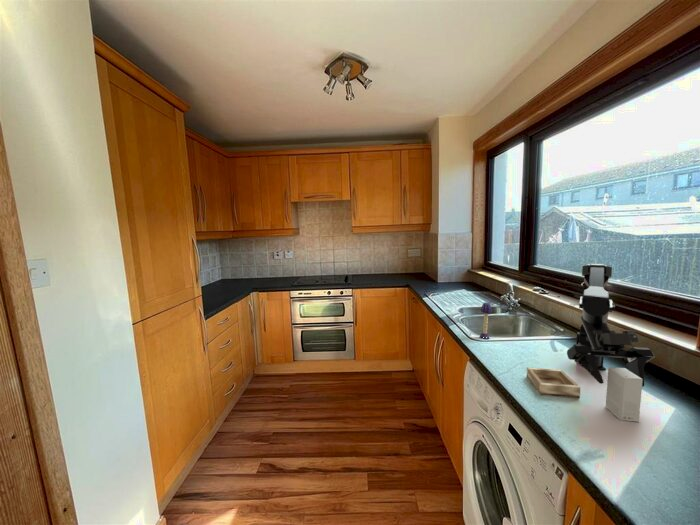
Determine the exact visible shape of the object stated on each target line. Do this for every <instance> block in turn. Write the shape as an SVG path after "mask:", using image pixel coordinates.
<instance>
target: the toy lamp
mask: <svg viewBox="0 0 700 525" xmlns="http://www.w3.org/2000/svg"><path fill="white" fill-rule="evenodd" d="M480 312H482V313H483V325H482V326H483V328H482V330H483V331H482V333H481V334H480V335H479V338H480V337H481V339H482V338H483V337H484V338H486V337H487V338H489V337H490V335H489V334H488V323H489V322H488V321H489V314H492V313H493V310H492V305H491V303H490V302H483V303H482V305H481V308H480ZM490 338H491V337H490Z"/></svg>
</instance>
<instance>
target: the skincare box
mask: <svg viewBox="0 0 700 525" xmlns="http://www.w3.org/2000/svg"><path fill="white" fill-rule="evenodd" d="M642 381H643V379H642V378H640V377H638V376H637V375H635V374H634V373H632V372H630V370H629V369H627V368H625V367H612V366H609V367H608V369H607V380H606V382H607V383H606V394H605V404H604V405H605V408H606V409H607V410H609V411H610V412H611V413H612V414H613V415H614V416H615V417H617V418H618V419H619V420H620V421H626V422H637V423H638V422H639V421H640V414H641V412H640V410H641V403H642V390H643V387H642Z"/></svg>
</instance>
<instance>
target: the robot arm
mask: <svg viewBox="0 0 700 525" xmlns="http://www.w3.org/2000/svg"><path fill="white" fill-rule="evenodd" d="M581 270H582V271H581V277H583V283H585V286H586V287H587V288H586V289H584V290H583V294H582V296H580V297H579V298H580V299H579V306H578V308H579V309H582V313H581V314H582V315H581V317H580V321H581V326H580V327H579V331H577V332H576V343H574V344H573V345H572V346H571V347H569V348H568V349H567V350H566V355H567V358H568V359H569V360H570V361H571V360H572V361H574V363H578V364H579V365H580V366H581V367H582V368H584V369H585V370H586V371H587V372H588V373H589V374H590V375H591V376H592V377H593V378H594V380H596V382H598V384H600V385H601V384H602V385H603V384H604V380H603V377H602V374H601V371H606V370H607V368H606V367H605V366H604V360H605V359H604V358H619V359H620V358H621V359H624V361H625V362H627V363H625V365H626V367H627V368H628V369H627V370H629V371H630V372H632V373H634V374H635V375H637V376H638V377H640V378H642V379H643V381H642V388H643V387H645V367H646V366H645V365H646V363H648V362H650V361H652V360H653V359H654V358H656V356H655V354H654V352H653V351H652V349H650V348H648V347H638V346H635V347H634V346H633V343H634V344H635V343H636V344H637V343H638V342H639V336H638V335H637V334H636V331H635V330H623V331H622V332H616V331H615V330H611V328H610V326H609V324H608V318H609V314H610V313H613V311H616V310H615V309H616V305H615V302H613V300H612V299H610V292H608V290H605V287H606V286H607V285H608V284H609V280H610V279H611V278H612V277H613V276H612V274H613V267H612V266H609V265H607V264H604V263H588V264H586V265H582V268H581ZM625 346H629V347H630V346H631V347H630V348H629V349H627V350H622V349H624V348H626V347H625ZM632 346H633V347H632Z"/></svg>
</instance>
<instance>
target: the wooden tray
mask: <svg viewBox="0 0 700 525" xmlns="http://www.w3.org/2000/svg"><path fill="white" fill-rule="evenodd" d="M526 378H527V380H529V382H530V384H531V385H532V387H534V388H535V390H536V391H537V392H538V394H539V395H540V396H547V397H557V398H568V399H569V398H570V399H580V397H581V387H580V386H579V384H578V383H576V382H575V381H574V380H573V379H572V377H570V376H569V375H568V374H567V373H566V372H565V371H564V370H563V369H554V368H540V367H526Z"/></svg>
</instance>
